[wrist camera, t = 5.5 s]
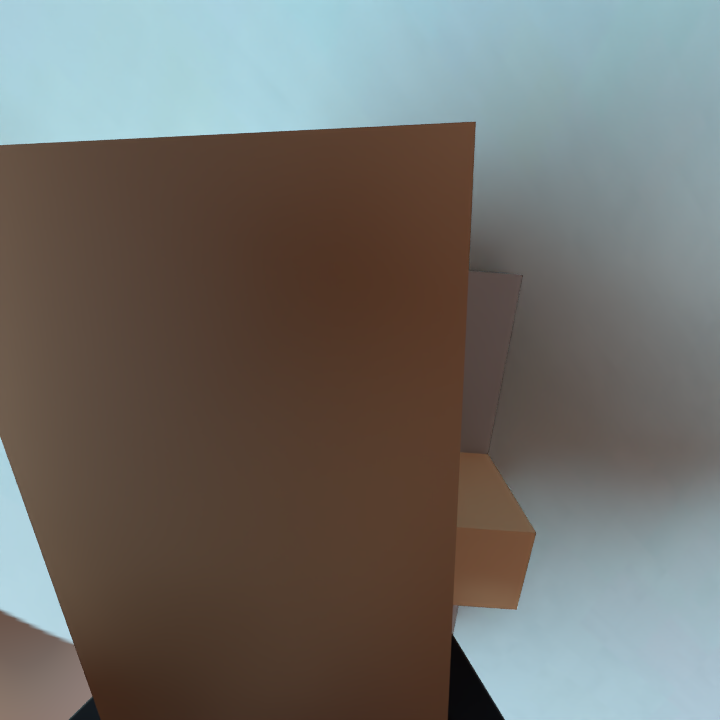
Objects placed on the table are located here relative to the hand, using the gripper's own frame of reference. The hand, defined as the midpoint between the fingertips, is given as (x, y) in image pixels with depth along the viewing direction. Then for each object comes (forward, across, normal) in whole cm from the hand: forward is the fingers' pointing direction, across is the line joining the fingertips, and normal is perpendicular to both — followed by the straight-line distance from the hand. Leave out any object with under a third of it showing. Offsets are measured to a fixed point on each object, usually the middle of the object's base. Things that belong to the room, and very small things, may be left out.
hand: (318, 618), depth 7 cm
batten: (+1, 0, 0) cm, 1 cm away
